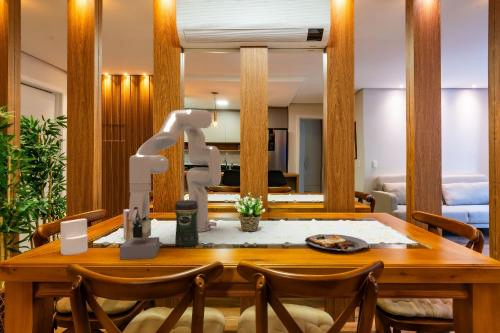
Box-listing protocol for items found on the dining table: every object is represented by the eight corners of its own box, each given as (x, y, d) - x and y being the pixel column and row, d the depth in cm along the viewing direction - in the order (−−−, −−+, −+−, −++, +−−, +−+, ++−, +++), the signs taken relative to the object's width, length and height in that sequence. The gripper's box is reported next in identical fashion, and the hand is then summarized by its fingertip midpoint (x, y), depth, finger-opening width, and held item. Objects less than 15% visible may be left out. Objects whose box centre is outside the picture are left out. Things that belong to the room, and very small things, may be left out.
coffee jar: (199, 241, 133) (199, 199, 133) (196, 246, 125) (196, 201, 125) (177, 241, 133) (177, 199, 133) (173, 246, 125) (172, 201, 125)
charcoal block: (159, 249, 123) (159, 237, 123) (154, 259, 111) (154, 245, 111) (128, 250, 121) (128, 238, 121) (119, 260, 109) (119, 246, 109)
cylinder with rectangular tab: (68, 256, 113) (68, 224, 113) (56, 252, 118) (55, 221, 117) (92, 250, 121) (91, 219, 120) (79, 246, 125) (79, 217, 125)
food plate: (331, 257, 111) (332, 248, 111) (294, 243, 131) (294, 234, 131) (379, 250, 122) (379, 241, 122) (337, 237, 143) (338, 230, 143)
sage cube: (151, 235, 119) (150, 219, 119) (146, 239, 113) (146, 222, 113) (135, 235, 119) (135, 219, 118) (129, 239, 113) (129, 223, 112)
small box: (126, 240, 135) (125, 211, 134) (123, 237, 140) (123, 209, 140) (145, 238, 139) (144, 209, 139) (141, 235, 144) (141, 207, 144)
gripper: (138, 185, 124) (138, 230, 124) (121, 190, 107) (121, 241, 107) (156, 185, 124) (157, 230, 124) (142, 189, 107) (143, 241, 107)
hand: (140, 234), depth 116 cm, fingers closed on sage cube, 6 cm apart
